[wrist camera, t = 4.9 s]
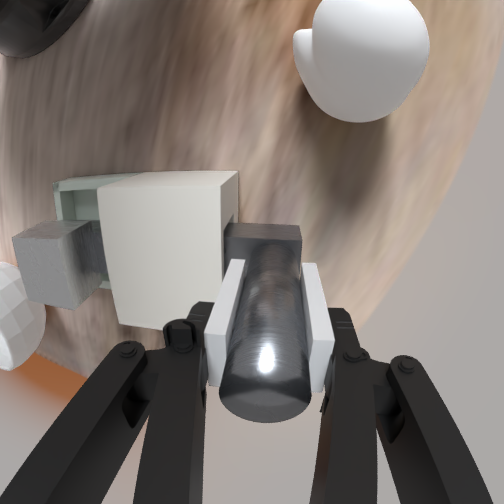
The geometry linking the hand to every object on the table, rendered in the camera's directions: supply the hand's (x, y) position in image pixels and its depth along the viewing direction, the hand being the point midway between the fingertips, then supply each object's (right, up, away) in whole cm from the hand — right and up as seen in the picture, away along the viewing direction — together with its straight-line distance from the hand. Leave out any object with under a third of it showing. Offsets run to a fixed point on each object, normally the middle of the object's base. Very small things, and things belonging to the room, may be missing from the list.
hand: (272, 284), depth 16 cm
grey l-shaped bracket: (-8, +3, +6) cm, 10 cm away
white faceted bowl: (-30, -3, +14) cm, 34 cm away
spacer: (-15, +2, +4) cm, 16 cm away
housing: (-6, +4, +9) cm, 11 cm away
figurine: (+6, +15, +3) cm, 17 cm away
